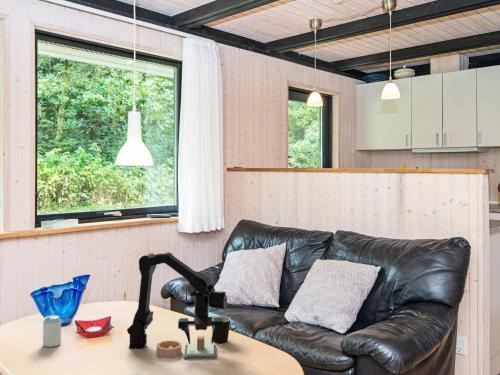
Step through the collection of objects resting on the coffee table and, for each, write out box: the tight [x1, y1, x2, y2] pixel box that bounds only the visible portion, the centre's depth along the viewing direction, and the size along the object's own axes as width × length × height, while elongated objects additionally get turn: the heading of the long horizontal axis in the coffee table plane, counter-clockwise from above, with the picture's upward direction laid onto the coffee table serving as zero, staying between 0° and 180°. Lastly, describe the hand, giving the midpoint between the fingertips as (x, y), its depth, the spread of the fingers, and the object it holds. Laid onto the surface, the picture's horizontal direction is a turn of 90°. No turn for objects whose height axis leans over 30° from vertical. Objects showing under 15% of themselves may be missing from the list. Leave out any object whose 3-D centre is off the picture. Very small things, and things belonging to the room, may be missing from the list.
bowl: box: [155, 339, 182, 359], centre depth 197 cm, size 10×10×4 cm
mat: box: [183, 344, 218, 360], centre depth 198 cm, size 13×13×1 cm
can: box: [42, 314, 62, 348], centre depth 203 cm, size 7×7×12 cm
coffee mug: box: [211, 315, 231, 345], centre depth 214 cm, size 12×9×10 cm
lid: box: [187, 336, 215, 356], centre depth 198 cm, size 11×11×5 cm
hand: (200, 343), depth 198 cm, fingers open, 9 cm apart
